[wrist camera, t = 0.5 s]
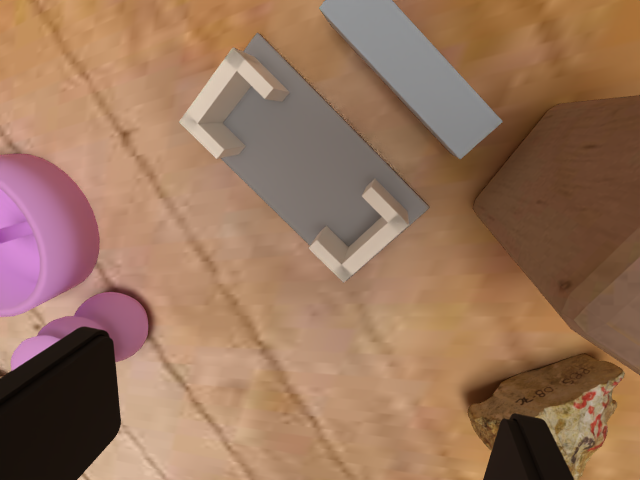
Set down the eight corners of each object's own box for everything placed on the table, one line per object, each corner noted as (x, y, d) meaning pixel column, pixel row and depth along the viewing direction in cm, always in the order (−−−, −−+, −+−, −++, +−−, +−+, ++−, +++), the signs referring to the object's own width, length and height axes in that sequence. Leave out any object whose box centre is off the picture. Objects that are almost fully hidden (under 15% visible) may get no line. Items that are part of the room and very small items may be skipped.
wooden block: (465, 206, 32) (559, 327, 13) (553, 98, 28) (849, 56, 10) (563, 272, 32) (796, 487, 13) (663, 173, 28) (1171, 273, 10)
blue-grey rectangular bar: (331, 25, 30) (318, 8, 25) (363, -13, 29) (356, -39, 24) (450, 153, 31) (460, 159, 26) (486, 121, 30) (502, 121, 25)
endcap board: (259, 34, 31) (235, 18, 26) (428, 206, 33) (433, 220, 28) (191, 126, 35) (159, 127, 30) (347, 278, 36) (339, 302, 31)
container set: (-43, 217, 43) (-220, 256, 31) (16, 121, 38) (-167, 122, 26) (115, 371, 46) (11, 465, 33) (192, 300, 40) (101, 380, 28)
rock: (538, 334, 39) (621, 351, 29) (587, 408, 39) (689, 450, 29) (446, 401, 38) (502, 443, 28) (496, 478, 37) (571, 549, 27)
